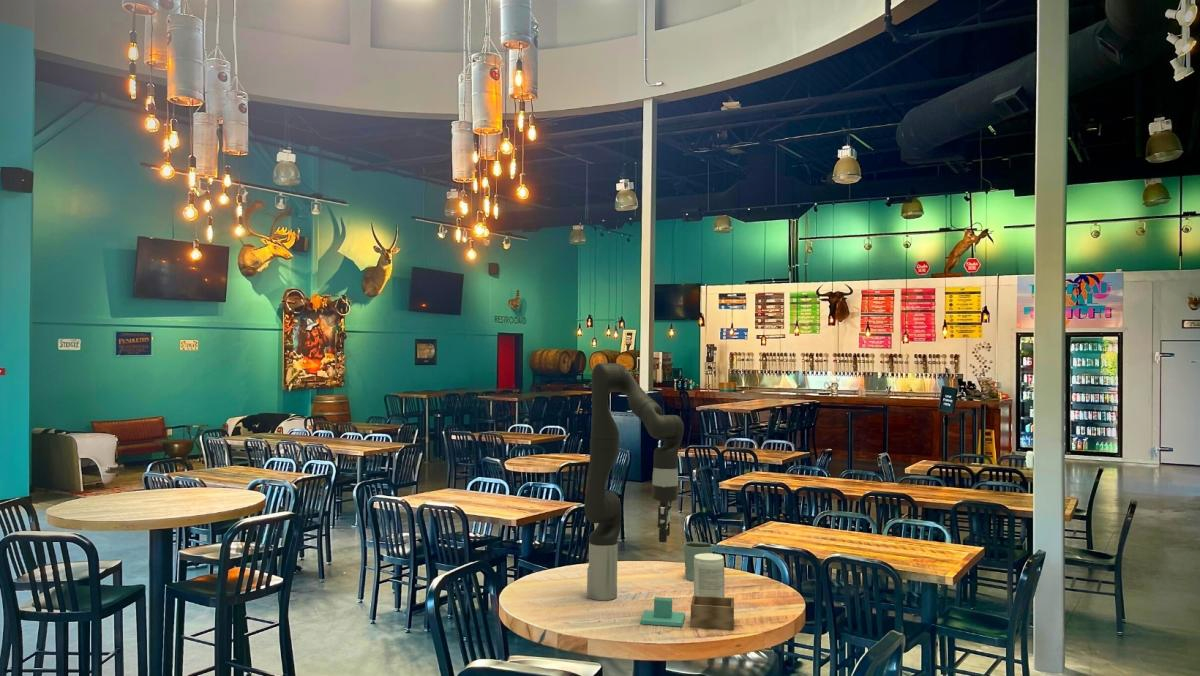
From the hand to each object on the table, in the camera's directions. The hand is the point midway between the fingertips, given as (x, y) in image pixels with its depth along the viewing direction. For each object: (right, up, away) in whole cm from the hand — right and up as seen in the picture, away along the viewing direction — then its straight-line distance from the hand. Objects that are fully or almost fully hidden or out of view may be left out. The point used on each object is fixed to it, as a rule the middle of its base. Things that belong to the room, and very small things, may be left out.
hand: (664, 538), depth 242 cm
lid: (-1, -24, -2) cm, 24 cm away
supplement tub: (+16, -25, +18) cm, 35 cm away
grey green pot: (+16, -26, +48) cm, 57 cm away
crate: (+14, -24, -4) cm, 28 cm away
